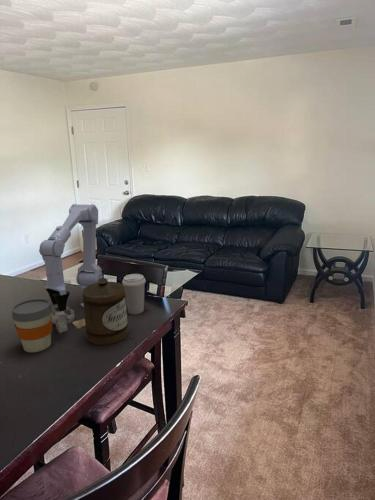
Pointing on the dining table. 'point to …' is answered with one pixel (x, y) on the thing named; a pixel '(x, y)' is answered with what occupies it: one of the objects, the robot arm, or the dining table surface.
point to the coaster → (79, 323)
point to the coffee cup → (134, 292)
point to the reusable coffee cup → (33, 324)
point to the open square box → (56, 310)
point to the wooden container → (105, 312)
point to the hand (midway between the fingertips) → (59, 307)
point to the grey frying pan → (70, 318)
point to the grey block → (61, 321)
